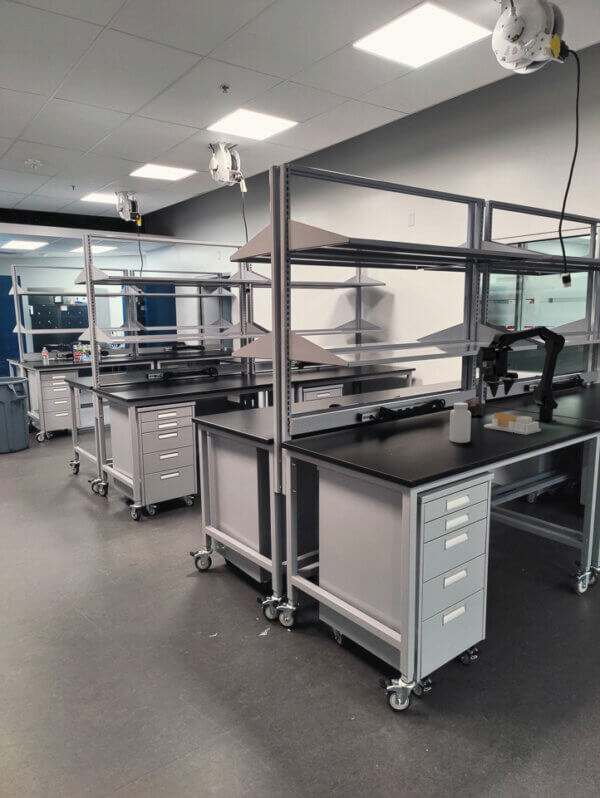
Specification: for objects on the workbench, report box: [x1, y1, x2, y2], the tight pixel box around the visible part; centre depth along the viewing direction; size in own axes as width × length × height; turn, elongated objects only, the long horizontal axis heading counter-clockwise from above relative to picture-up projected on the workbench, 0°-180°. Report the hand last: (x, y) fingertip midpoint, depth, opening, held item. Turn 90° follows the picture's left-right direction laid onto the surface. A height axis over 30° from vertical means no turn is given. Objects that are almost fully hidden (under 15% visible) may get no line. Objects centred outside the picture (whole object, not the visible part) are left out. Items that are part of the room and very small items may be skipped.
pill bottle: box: [448, 401, 472, 444], centre depth 211 cm, size 8×8×15 cm
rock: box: [462, 396, 483, 417], centre depth 263 cm, size 12×9×10 cm
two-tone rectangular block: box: [493, 411, 533, 427], centre depth 231 cm, size 4×16×5 cm, turn 36°
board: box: [483, 417, 542, 436], centre depth 231 cm, size 11×20×4 cm, turn 36°
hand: (499, 395), depth 242 cm, fingers open, 9 cm apart
